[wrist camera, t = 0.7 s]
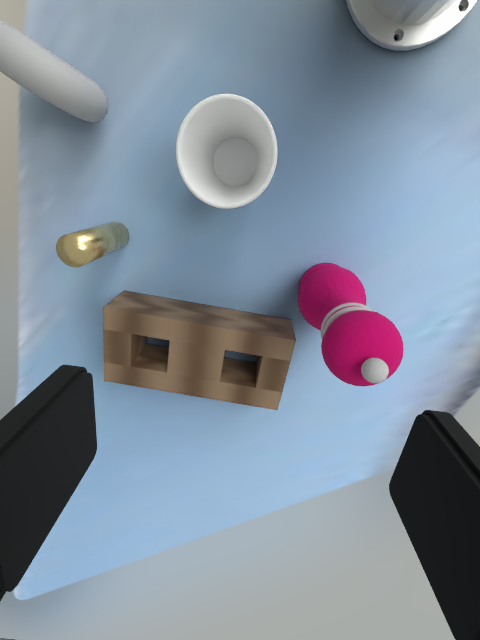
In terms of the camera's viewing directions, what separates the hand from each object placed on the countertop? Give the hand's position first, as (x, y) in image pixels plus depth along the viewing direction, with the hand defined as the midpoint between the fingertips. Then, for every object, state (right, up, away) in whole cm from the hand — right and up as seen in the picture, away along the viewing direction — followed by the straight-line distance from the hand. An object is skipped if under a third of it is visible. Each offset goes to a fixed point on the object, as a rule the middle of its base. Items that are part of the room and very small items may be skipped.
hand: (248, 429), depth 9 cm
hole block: (-5, +1, +34) cm, 35 cm away
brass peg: (-15, +13, +29) cm, 36 cm away
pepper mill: (+10, +7, +31) cm, 33 cm away
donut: (-17, +27, +24) cm, 40 cm away
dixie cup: (-1, +20, +26) cm, 33 cm away
